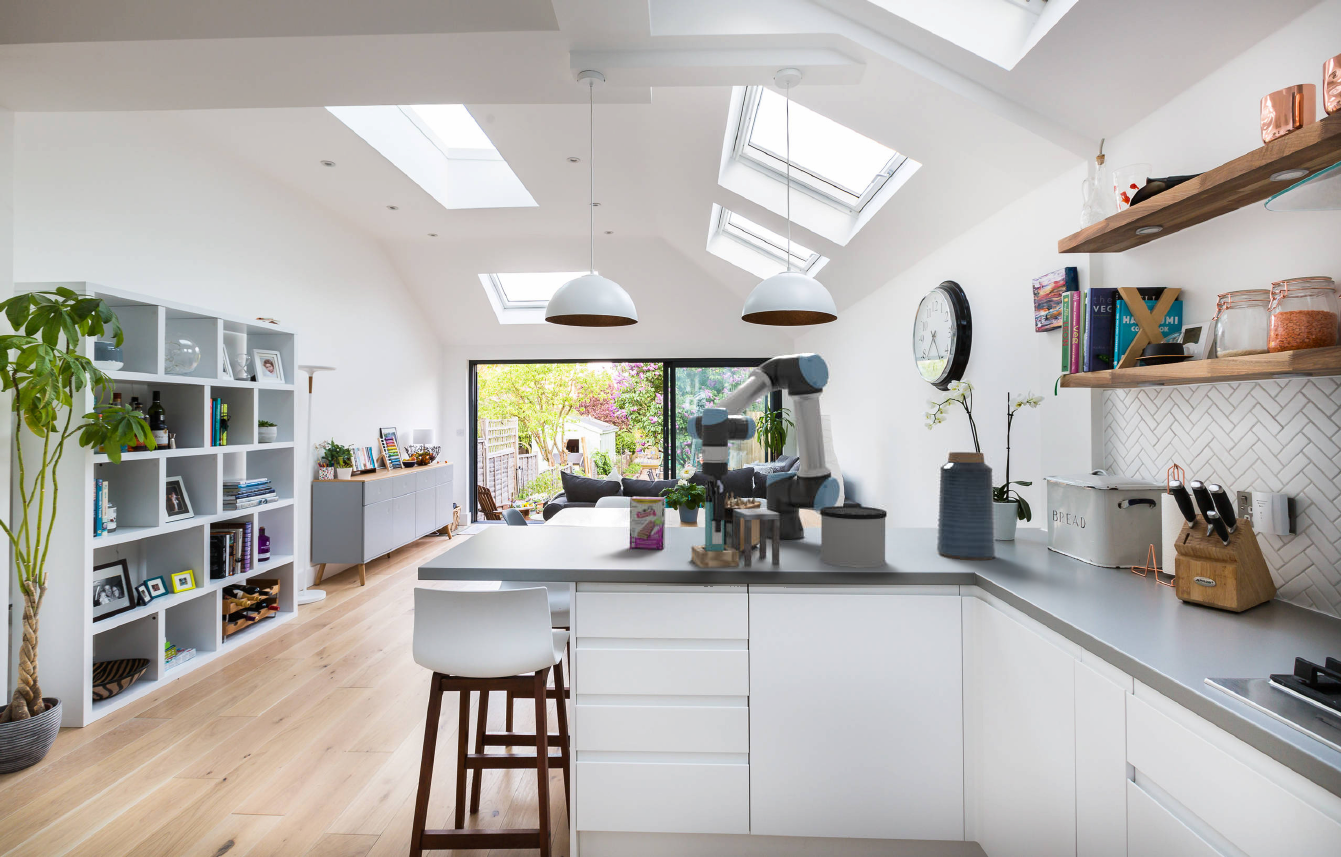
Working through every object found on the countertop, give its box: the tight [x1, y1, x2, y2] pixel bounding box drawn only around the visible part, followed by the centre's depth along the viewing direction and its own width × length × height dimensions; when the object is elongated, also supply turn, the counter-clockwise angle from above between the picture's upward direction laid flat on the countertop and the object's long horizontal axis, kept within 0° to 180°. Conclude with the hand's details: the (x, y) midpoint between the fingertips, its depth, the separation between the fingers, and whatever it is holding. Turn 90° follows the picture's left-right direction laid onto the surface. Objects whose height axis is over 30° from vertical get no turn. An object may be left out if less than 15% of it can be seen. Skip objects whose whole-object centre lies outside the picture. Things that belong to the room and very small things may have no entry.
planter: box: [703, 491, 762, 556], centre depth 205 cm, size 25×25×19 cm
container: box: [819, 505, 888, 568], centre depth 188 cm, size 19×19×15 cm
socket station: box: [691, 508, 780, 568], centre depth 186 cm, size 23×12×14 cm, turn 102°
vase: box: [936, 451, 996, 561], centre depth 196 cm, size 16×16×32 cm
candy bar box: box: [629, 496, 666, 550], centre depth 207 cm, size 11×5×16 cm, turn 84°
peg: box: [704, 501, 724, 551], centre depth 184 cm, size 4×4×14 cm
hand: (714, 541), depth 184 cm, fingers closed on peg, 4 cm apart
